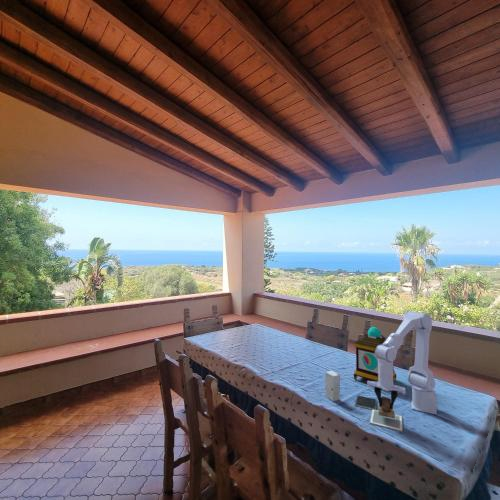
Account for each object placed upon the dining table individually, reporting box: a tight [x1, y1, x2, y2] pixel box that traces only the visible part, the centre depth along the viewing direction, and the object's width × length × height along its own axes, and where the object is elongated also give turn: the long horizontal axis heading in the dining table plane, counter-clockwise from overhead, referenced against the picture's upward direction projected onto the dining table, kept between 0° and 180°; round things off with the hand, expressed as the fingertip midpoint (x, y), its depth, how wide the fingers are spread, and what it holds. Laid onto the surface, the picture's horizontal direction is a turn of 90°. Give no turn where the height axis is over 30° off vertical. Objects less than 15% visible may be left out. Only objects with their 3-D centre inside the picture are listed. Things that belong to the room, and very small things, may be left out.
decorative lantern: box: [353, 326, 397, 382], centre depth 159 cm, size 20×20×30 cm
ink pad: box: [354, 395, 378, 411], centre depth 132 cm, size 9×9×1 cm
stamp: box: [377, 396, 396, 418], centre depth 119 cm, size 6×6×6 cm
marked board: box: [369, 409, 404, 433], centre depth 118 cm, size 12×12×1 cm
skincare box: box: [324, 370, 341, 402], centre depth 138 cm, size 6×4×12 cm
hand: (386, 407), depth 119 cm, fingers closed on stamp, 4 cm apart
